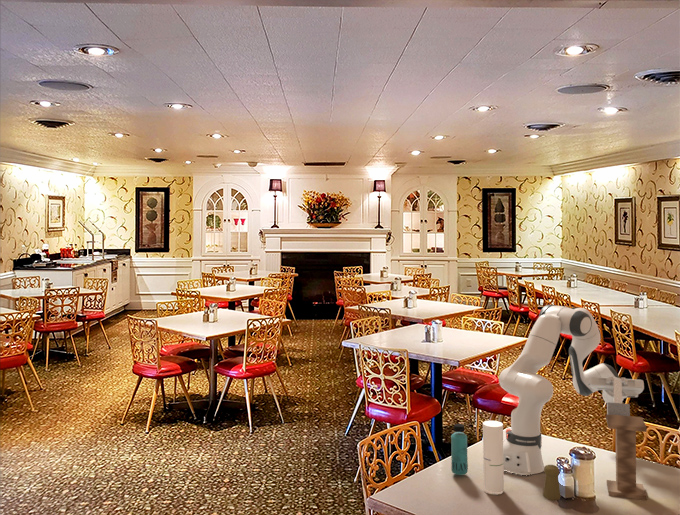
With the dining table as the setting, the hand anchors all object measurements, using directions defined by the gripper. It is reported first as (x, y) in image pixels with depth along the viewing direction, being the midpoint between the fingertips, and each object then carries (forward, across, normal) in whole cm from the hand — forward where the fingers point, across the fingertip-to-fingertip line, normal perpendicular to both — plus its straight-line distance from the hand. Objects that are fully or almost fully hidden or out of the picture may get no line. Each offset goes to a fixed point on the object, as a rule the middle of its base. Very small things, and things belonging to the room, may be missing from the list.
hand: (617, 378), depth 231 cm
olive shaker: (+18, -25, +50) cm, 59 cm away
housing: (-5, 0, +8) cm, 9 cm away
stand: (+7, 0, +44) cm, 44 cm away
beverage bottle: (+11, -59, +46) cm, 76 cm away
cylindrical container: (+19, -45, +51) cm, 71 cm away
